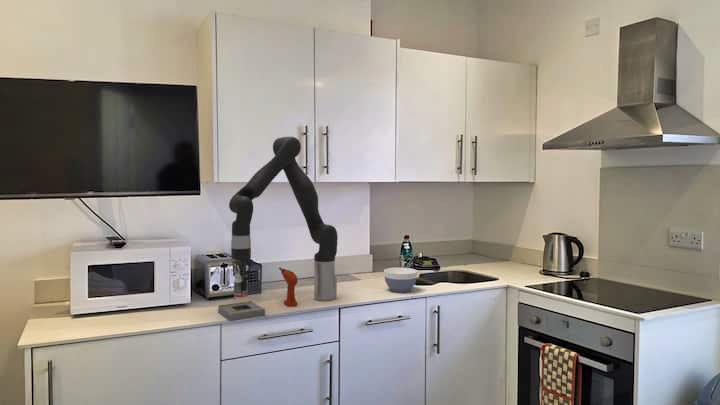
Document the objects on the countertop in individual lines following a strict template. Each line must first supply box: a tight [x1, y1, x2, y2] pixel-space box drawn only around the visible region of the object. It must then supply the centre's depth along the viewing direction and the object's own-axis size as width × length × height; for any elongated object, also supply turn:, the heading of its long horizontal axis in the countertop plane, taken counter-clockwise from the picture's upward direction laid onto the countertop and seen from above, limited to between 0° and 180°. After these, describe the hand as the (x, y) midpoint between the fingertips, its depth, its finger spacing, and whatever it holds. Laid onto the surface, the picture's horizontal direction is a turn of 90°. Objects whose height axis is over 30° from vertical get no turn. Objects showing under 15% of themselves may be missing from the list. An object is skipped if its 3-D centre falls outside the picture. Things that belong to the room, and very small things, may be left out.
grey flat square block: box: [217, 300, 266, 322], centre depth 201 cm, size 14×14×3 cm
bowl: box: [383, 267, 418, 293], centre depth 243 cm, size 16×16×10 cm
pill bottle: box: [233, 273, 249, 300], centre depth 200 cm, size 5×5×10 cm
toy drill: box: [278, 267, 299, 308], centre depth 219 cm, size 5×19×15 cm, turn 29°
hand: (241, 288), depth 200 cm, fingers closed on pill bottle, 5 cm apart
